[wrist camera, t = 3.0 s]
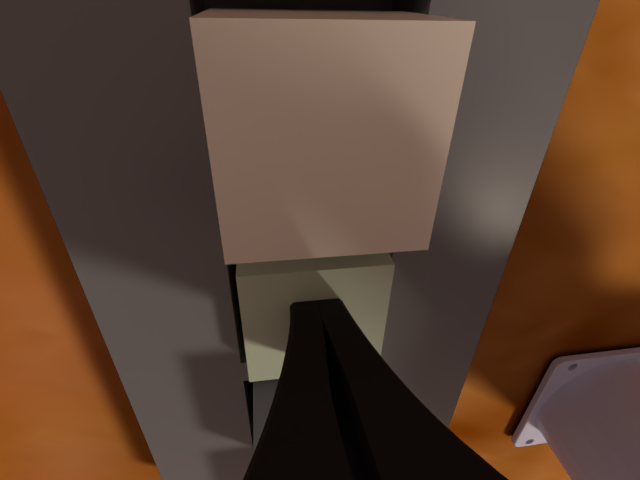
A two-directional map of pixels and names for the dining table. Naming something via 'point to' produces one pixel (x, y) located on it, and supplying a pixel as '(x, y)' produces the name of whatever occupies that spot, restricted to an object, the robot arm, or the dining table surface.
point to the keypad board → (201, 211)
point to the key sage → (308, 285)
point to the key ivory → (327, 127)
